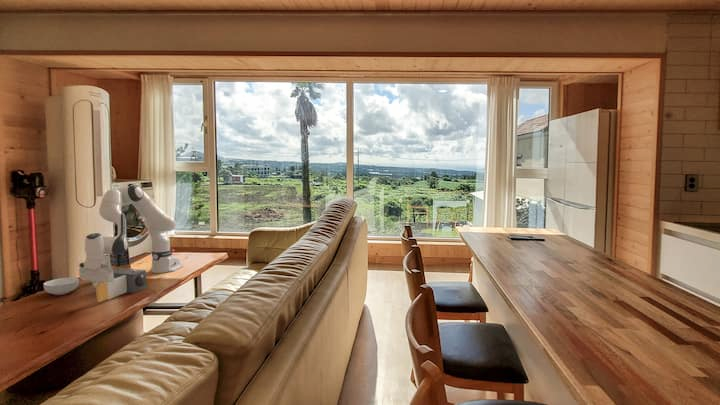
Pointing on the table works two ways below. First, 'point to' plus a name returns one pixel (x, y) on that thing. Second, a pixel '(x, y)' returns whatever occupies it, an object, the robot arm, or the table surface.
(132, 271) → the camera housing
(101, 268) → the robot arm
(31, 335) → the table surface
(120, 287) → the side door
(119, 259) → the whiskey bottle
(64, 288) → the cereal bowl
